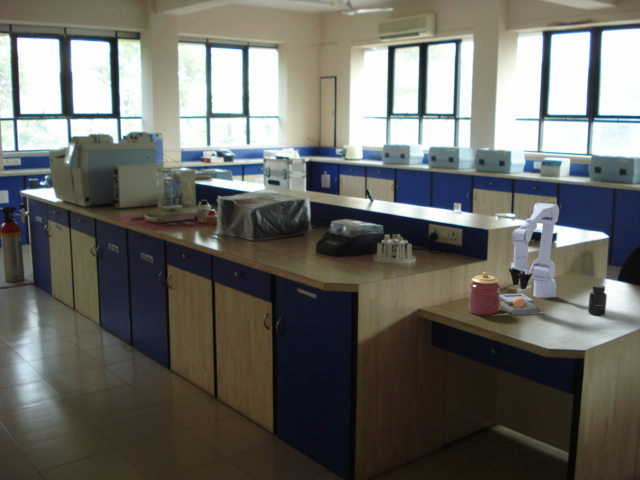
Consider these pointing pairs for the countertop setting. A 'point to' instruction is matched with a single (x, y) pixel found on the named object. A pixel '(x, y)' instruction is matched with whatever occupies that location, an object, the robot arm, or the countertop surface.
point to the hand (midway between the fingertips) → (519, 286)
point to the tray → (520, 310)
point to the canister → (484, 295)
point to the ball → (519, 302)
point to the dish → (512, 296)
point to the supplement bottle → (597, 300)
